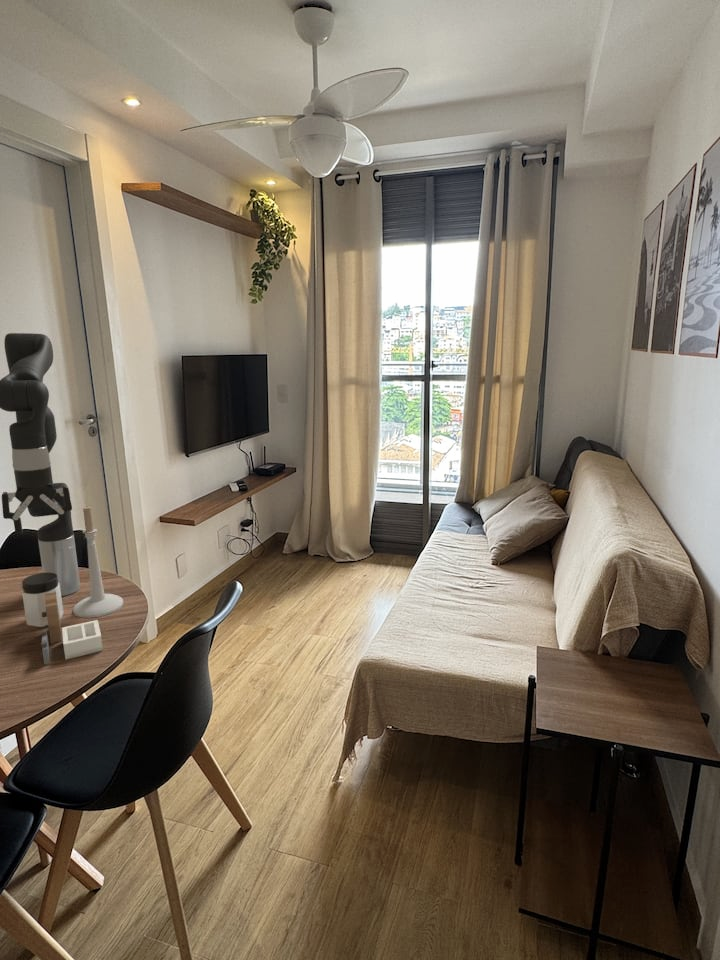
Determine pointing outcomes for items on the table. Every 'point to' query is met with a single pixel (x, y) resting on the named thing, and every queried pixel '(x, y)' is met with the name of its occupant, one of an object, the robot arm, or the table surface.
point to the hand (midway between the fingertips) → (41, 530)
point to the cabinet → (76, 640)
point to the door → (52, 617)
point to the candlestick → (95, 580)
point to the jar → (40, 597)
